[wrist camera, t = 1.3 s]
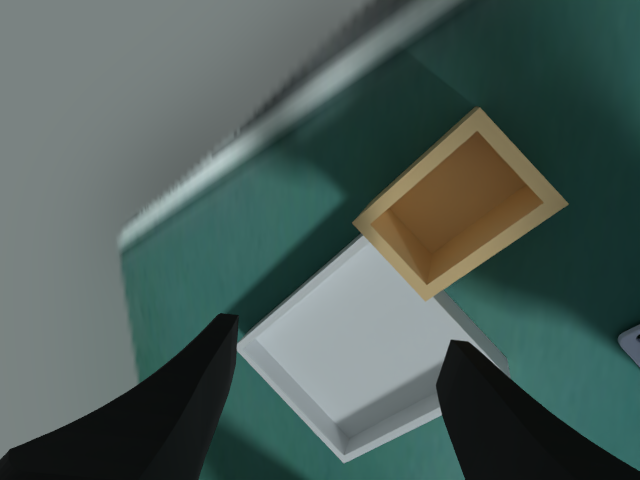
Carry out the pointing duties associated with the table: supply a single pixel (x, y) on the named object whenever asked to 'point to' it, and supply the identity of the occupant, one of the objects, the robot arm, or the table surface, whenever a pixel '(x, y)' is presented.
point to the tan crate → (457, 205)
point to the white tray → (360, 350)
